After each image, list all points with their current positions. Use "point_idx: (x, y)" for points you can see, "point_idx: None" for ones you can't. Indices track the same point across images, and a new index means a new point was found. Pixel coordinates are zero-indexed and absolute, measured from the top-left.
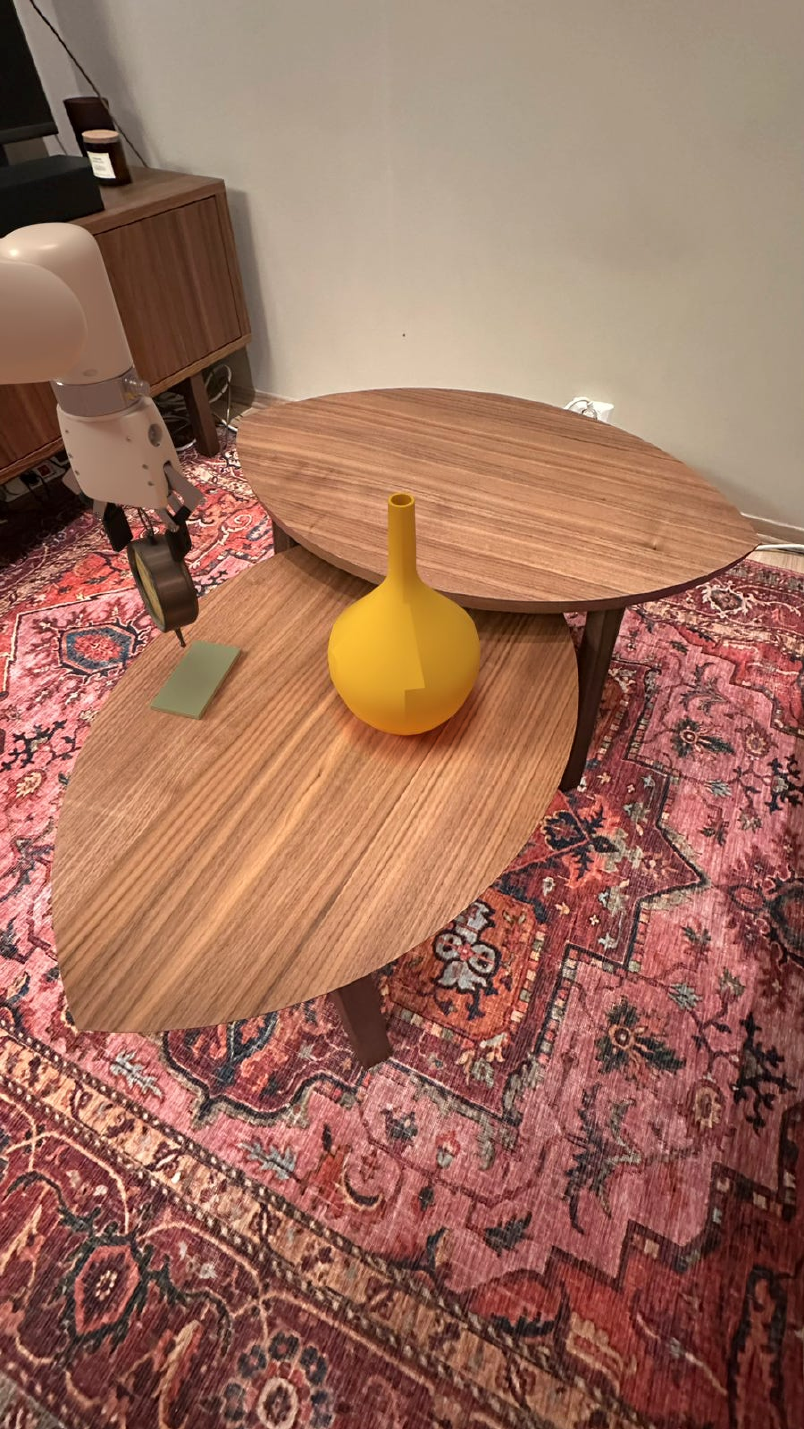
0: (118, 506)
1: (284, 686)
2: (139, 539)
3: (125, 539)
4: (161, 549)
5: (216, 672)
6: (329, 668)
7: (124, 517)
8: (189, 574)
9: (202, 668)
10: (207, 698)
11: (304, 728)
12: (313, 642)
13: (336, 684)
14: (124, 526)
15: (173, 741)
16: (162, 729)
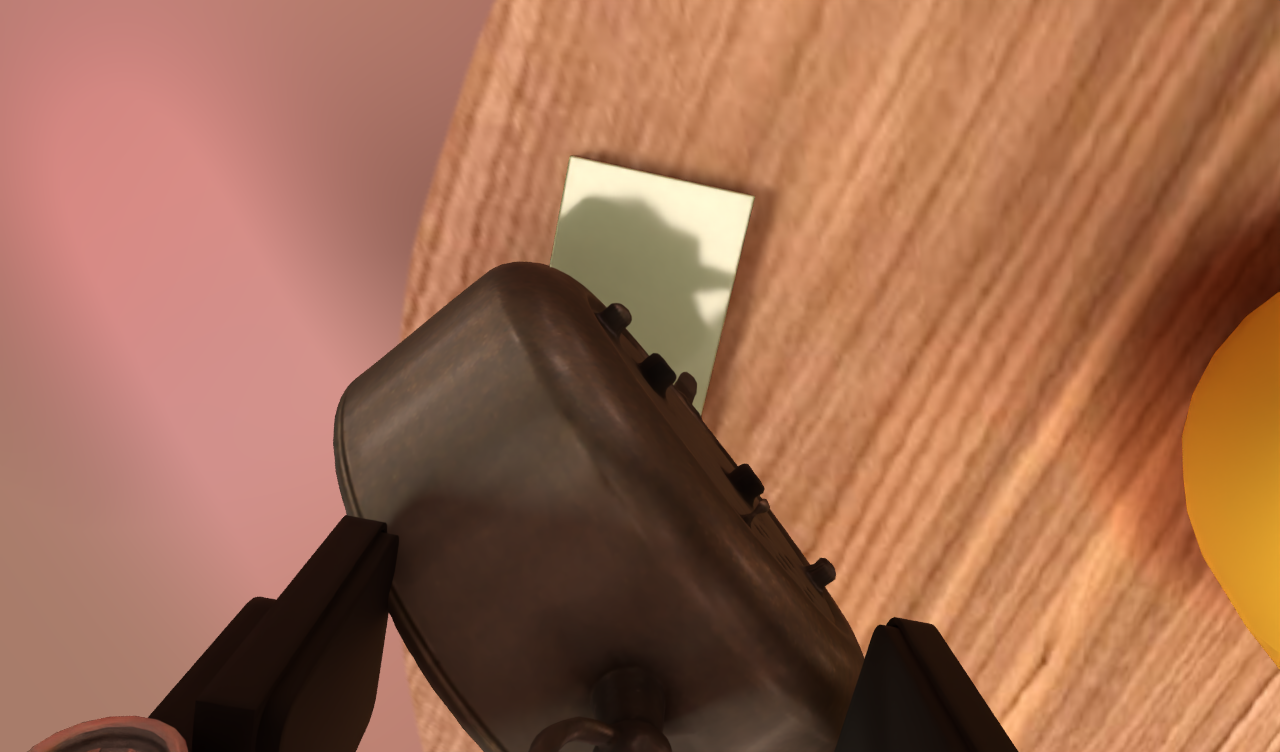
0: (208, 711)
1: (923, 352)
2: (491, 629)
3: (372, 646)
4: (725, 747)
5: (691, 325)
6: (1269, 603)
7: (318, 676)
8: None
9: (636, 308)
10: None
11: (997, 515)
12: (1013, 124)
13: (1273, 648)
14: (341, 668)
15: None
16: None
